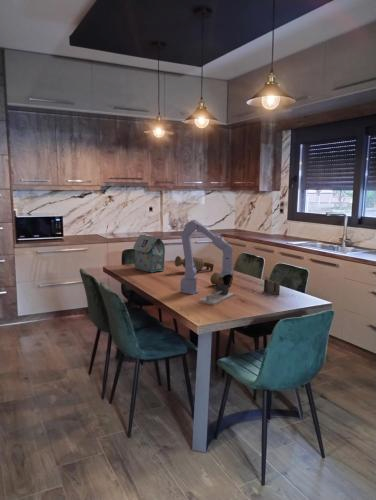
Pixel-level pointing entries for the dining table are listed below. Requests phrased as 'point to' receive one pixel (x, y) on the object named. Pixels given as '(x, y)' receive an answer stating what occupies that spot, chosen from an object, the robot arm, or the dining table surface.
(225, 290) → the collar
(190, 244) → the robot arm
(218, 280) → the brown lobed block
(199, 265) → the olive brown long piece
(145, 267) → the lunch bag
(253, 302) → the dining table surface
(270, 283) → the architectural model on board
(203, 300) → the rail board
